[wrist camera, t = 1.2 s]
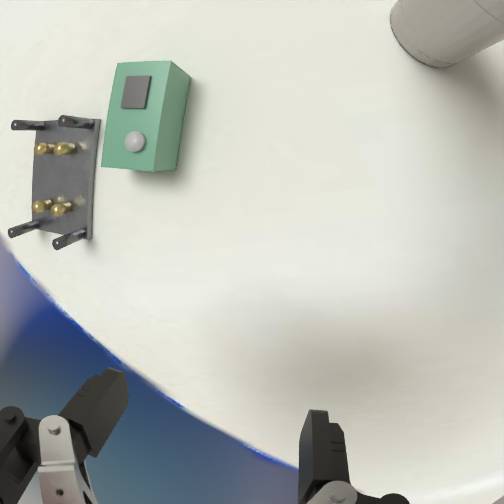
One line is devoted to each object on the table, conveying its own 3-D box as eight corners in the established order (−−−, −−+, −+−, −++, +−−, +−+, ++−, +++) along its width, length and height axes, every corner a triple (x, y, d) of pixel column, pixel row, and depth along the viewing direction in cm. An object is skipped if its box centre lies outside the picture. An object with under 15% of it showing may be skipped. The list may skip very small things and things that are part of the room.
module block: (144, 76, 28) (114, 61, 22) (191, 77, 28) (168, 58, 22) (130, 164, 31) (97, 167, 25) (176, 169, 31) (150, 172, 24)
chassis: (42, 122, 30) (10, 120, 25) (100, 119, 30) (68, 114, 24) (37, 226, 34) (7, 237, 29) (91, 237, 34) (62, 251, 28)
